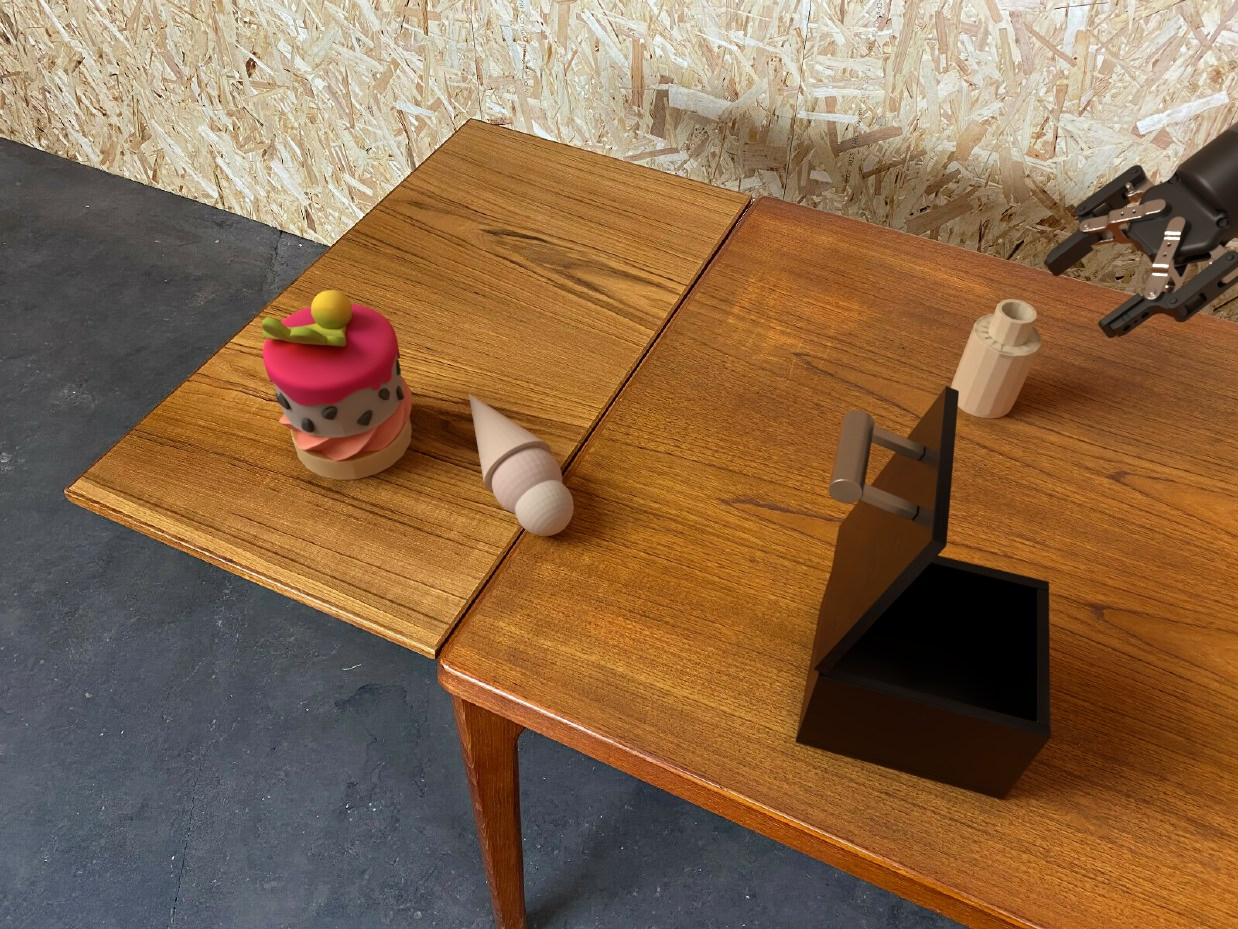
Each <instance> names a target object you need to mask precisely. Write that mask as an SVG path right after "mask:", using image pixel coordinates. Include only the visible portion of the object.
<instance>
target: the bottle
mask: <svg viewBox="0 0 1238 929" xmlns="http://www.w3.org/2000/svg"><path fill="white" fill-rule="evenodd" d="M1037 313H1038V312H1037V310H1036V309H1035V308H1034V307H1033V306H1032V304H1030V303H1028V302H1026V301H1024V300H1022V299H1021V300H1020V299H1015V298H1010V299H1009V298H1008V299H1003V300H1001V301H1000V302H999V303H997V305H996V308H995V310H994V313H989V314H986V315H983V316H980V317H979V318H978V319H977V320H976V321H975V323H974V324H973V326H972V328H971V331H970V333H969V334H970V335H969V337H968V339H967V342H966V345H965V347H964V351H963V352H962V355H961V358H960V361H959V362H958V363H959V364H958V366H957V369H956V372H955V374H954V376H953V379H952V382H951V386H950V388H953V389H955V390H958V391H959V397H958V409H960V410H961V411H963V412H965V413H966V414H969V415H970V416H973V417H977V418H981V419H998V418H1002V417H1004V416H1006V415H1007V414H1008V413H1010V411H1011V410H1012V409H1013V406H1014V405H1015V403H1016V402H1017V399H1018V396H1019V395H1020V392H1021V390H1022V388H1023V386H1024V383H1025V381H1026V379H1027V377H1028V374H1029V372H1030V370H1031V368H1032V366H1033V363H1034V362H1035V359H1036V357H1037V355H1038V352H1039V350H1040V348H1041V346H1042V336H1041V334H1040V332H1039V331H1038V329H1037V328H1036V327H1035V326H1034V325H1035V323H1036V320H1037Z"/></svg>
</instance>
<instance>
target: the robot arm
mask: <svg viewBox="0 0 1238 929" xmlns="http://www.w3.org/2000/svg"><path fill="white" fill-rule="evenodd" d="M1133 202H1134V203H1138V205H1137V204H1136V205H1132V206H1129V205H1130V204H1131V203H1133ZM1127 206H1128V207H1127ZM1074 213H1075V214H1076V217H1077V220H1078V224H1079V225H1078V228H1076V230H1075V231H1074V232H1073V233H1071V234H1070V235H1069V236H1068V237H1066V238H1065V239H1064V240H1062V241H1061V242H1060V243H1059V244H1057V245H1056V246H1055V247H1053V248H1052V249H1051V250H1050V251H1049V252H1048V254H1047V255H1046V256H1047V257H1046V258H1045V259H1044V261H1043V265H1044V266H1045V267H1046V268H1047V269H1048V270H1049V272H1050V273H1051V274H1052V275H1053V277H1059V276H1060V275H1062V274H1064V273H1065V272H1067V271H1068V270H1069V269H1070V268H1071V267H1073V266H1074V265H1076V264H1077V263H1079V262H1080V261H1081V260H1082V259H1084V258H1086V257H1087V256H1088V255H1089V254H1090V253H1092V252H1093V251H1094V250H1095V249H1094V248H1093V247H1097V246H1101V245H1102V246H1103V245H1107V244H1113V243H1116V244H1117V243H1118V244H1120V245H1125V244H1127V245H1128V244H1132V245H1133V246H1134V247H1135V248H1136V249H1137V251H1139V252H1140V253H1142V254H1144V255H1146V256H1147V258H1148V259H1149V261H1150V263H1151V264H1152V266H1151V275H1150V278H1149V280H1148V282H1147V285H1146V288H1144V292H1143V295H1141V294H1140V293H1139V292H1137V293H1136V294H1134V295H1132V296H1130V298H1128V299H1127V300H1125V302H1123V303H1121V304H1120V305H1118V306H1117V307H1115V308H1114V309H1113V310H1112V311H1110V312H1109V313H1108V314H1106V315H1104V316H1103V317H1102V318H1101V319H1100V320H1099V321H1098V322H1097V326H1098V327H1099V329H1100V330H1101V331H1102V332H1103V334H1104V335H1105V336H1106V337H1107V338H1108V339H1113V338H1115V337H1118V338H1120V337H1123V336H1126V335H1127V334H1129V333H1131V332H1132V330H1134V329H1136V328H1137V327H1139V326H1140V325H1141V324H1143V323H1145V322H1146V321H1147V320H1149V319H1150V318H1152V317H1154V316H1156V315H1159V314H1160V315H1161V314H1163V315H1165V316H1168V317H1170V318H1173V319H1174V321H1175V322H1177V323H1185V322H1187V321H1189V320H1190V319H1191V318H1192V317H1194V316H1195V315H1196V314H1198V313H1200V311H1201V310H1203V309H1204V308H1206V307H1207V306H1208V305H1210V304H1211V303H1213V301H1215V300H1216V299H1218V298H1219V297H1220V296H1221V295H1223V294H1224V293H1226V292H1227V291H1228V290H1230V289H1231V288H1232V287H1234V286H1235V285H1236V284H1237V283H1238V251H1237V250H1228V249H1227V248H1226V247H1227V245H1228V244H1229V243H1230V242H1231V241H1233V240H1234V239H1238V120H1237V121H1236V122H1233V124H1232V125H1230V126H1229V127H1227V129H1225V130H1223V131H1222V132H1221V133H1220V134H1218V135H1217V136H1215V137H1214V138H1213V139H1211V141H1209V142H1208V143H1206V144H1205V145H1204V146H1202V147H1201V148H1200V149H1199V150H1197V151H1196V152H1195V153H1194V154H1192V155H1191V156H1189V157H1188V158H1187V159H1186V160H1184V161H1183V162H1181V163H1180V164H1179V165H1178V166H1177V167H1176V169H1175V171H1174V173H1173V174H1172V175H1171V176H1170V177H1169V179H1167V180H1165V181H1163V182H1161V183H1158V184H1154V183H1153V182H1152V181H1151V180H1150V179H1149V177H1148V175H1147V174H1146V172H1145V170H1144V168H1143V166H1142V165H1141V164H1135V165H1132V166H1131V167H1129V168H1127V169H1126V170H1125V171H1123V172H1122V173H1121V174H1119V175H1117V177H1115V178H1114V179H1112V180H1110V181H1109V182H1108V183H1106V184H1105V185H1104V186H1102V187H1101V188H1099V189H1098V190H1097V191H1095V192H1093V193H1092V194H1091V195H1089V196H1088V197H1087V198H1086V199H1084V200H1082V201H1081V202H1080V203H1078V204H1077V205H1076V206H1075V208H1074ZM1127 224H1129V225H1127ZM1202 262H1206V263H1205V265H1204V269H1202V270H1201V271H1200V272H1198V273H1197V274H1196V275H1194V276H1193V277H1191V278H1190V279H1189V280H1188V281H1187V282H1185V279H1186V277H1187V275H1188V273H1189V270H1190V268H1191V265H1192V264H1196V263H1197V264H1198V263H1202ZM1184 282H1185V283H1184Z"/></svg>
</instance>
